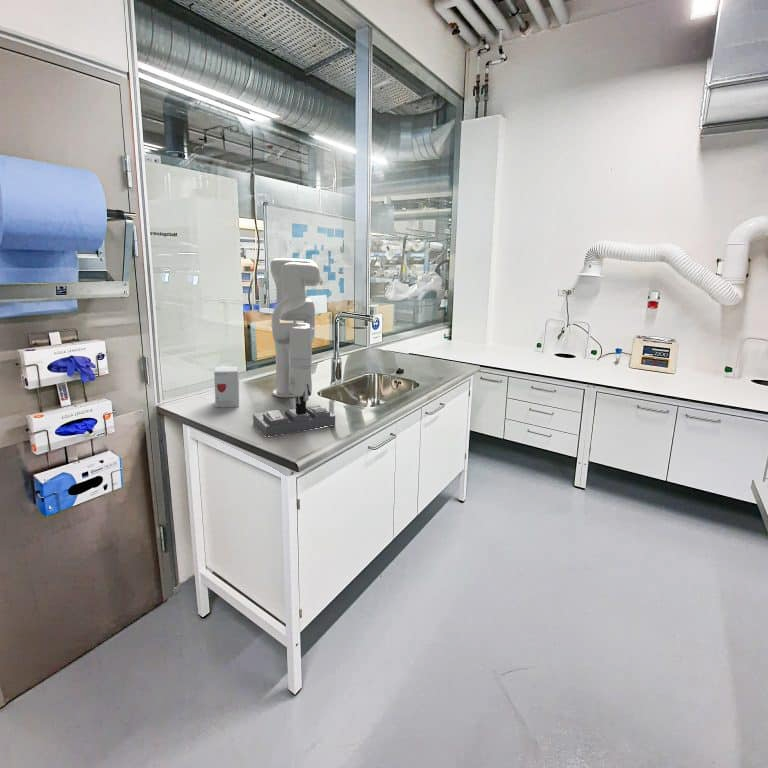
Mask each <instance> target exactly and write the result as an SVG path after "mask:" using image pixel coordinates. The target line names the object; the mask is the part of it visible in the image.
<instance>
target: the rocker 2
mask: <svg viewBox="0 0 768 768" xmlns="http://www.w3.org/2000/svg"><path fill="white" fill-rule="evenodd" d="M309 409H310V410H311V411H313V412H314V413H318V412H325V411H326V410H327V408H326V407H324V406H322V407H313V408H309Z"/></svg>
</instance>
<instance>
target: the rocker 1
mask: <svg viewBox="0 0 768 768" xmlns="http://www.w3.org/2000/svg"><path fill="white" fill-rule="evenodd" d="M279 410H280V409H275V410H274V409H273V410H267V411H266V412H267V415H268V416H269V418H271V419H272V420H277V419H284V417H283V415H282V414H281V413H280V411H279Z"/></svg>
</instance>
